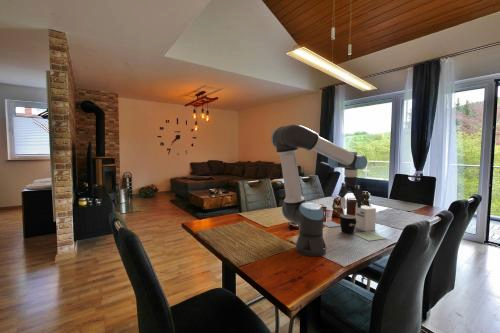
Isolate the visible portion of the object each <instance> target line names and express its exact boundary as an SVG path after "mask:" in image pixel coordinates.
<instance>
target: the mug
mask: <svg viewBox="0 0 500 333" xmlns="http://www.w3.org/2000/svg"><path fill="white" fill-rule="evenodd" d="M339 217H340V218H339V221H340V223H339V225H341V226H340V229H341V230H340V231H341V233H342V234H347V235H352V234H354V232H355V228H356V227H355V226H356V217H355V215H351V214H341V215H340V216H339Z"/></svg>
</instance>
